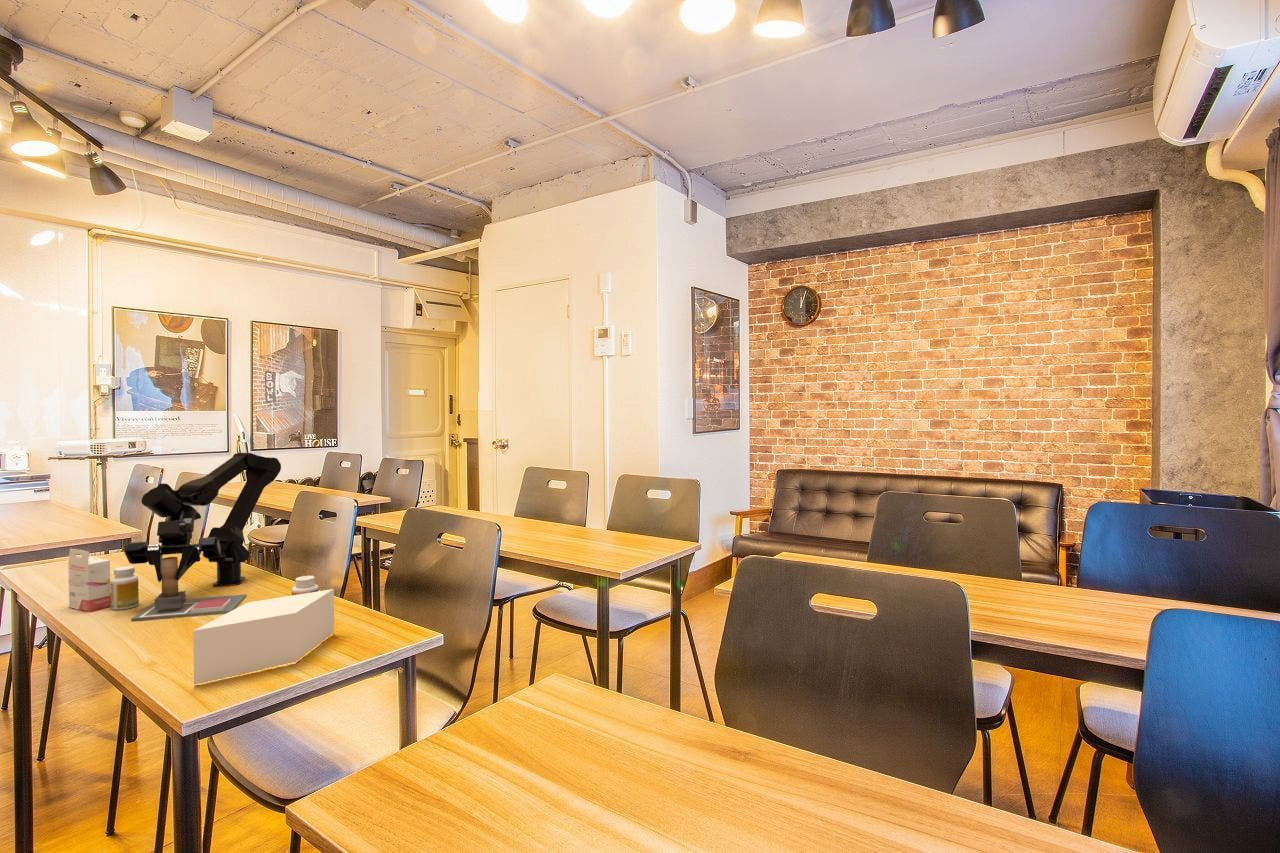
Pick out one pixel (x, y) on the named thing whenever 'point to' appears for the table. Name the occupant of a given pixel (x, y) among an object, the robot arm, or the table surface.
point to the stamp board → (193, 608)
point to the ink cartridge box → (88, 582)
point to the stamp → (169, 586)
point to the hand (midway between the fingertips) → (168, 580)
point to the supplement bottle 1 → (124, 588)
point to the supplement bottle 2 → (305, 585)
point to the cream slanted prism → (262, 635)
